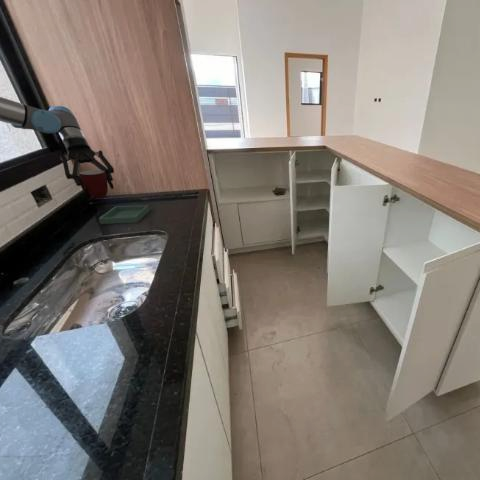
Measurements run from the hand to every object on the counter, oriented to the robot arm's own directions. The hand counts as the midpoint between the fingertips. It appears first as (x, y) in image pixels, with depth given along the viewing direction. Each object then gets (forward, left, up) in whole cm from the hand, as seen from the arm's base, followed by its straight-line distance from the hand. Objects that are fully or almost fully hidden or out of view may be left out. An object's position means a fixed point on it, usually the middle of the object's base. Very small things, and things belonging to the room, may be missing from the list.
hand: (99, 189), depth 106 cm
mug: (-2, +3, -4) cm, 5 cm away
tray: (+2, +9, -16) cm, 18 cm away
